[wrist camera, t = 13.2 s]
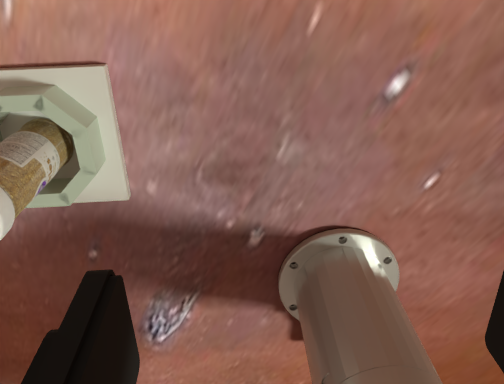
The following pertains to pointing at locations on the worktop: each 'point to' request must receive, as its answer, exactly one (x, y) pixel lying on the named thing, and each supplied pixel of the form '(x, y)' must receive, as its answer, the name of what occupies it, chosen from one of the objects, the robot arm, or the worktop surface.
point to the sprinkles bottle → (29, 165)
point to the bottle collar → (70, 128)
